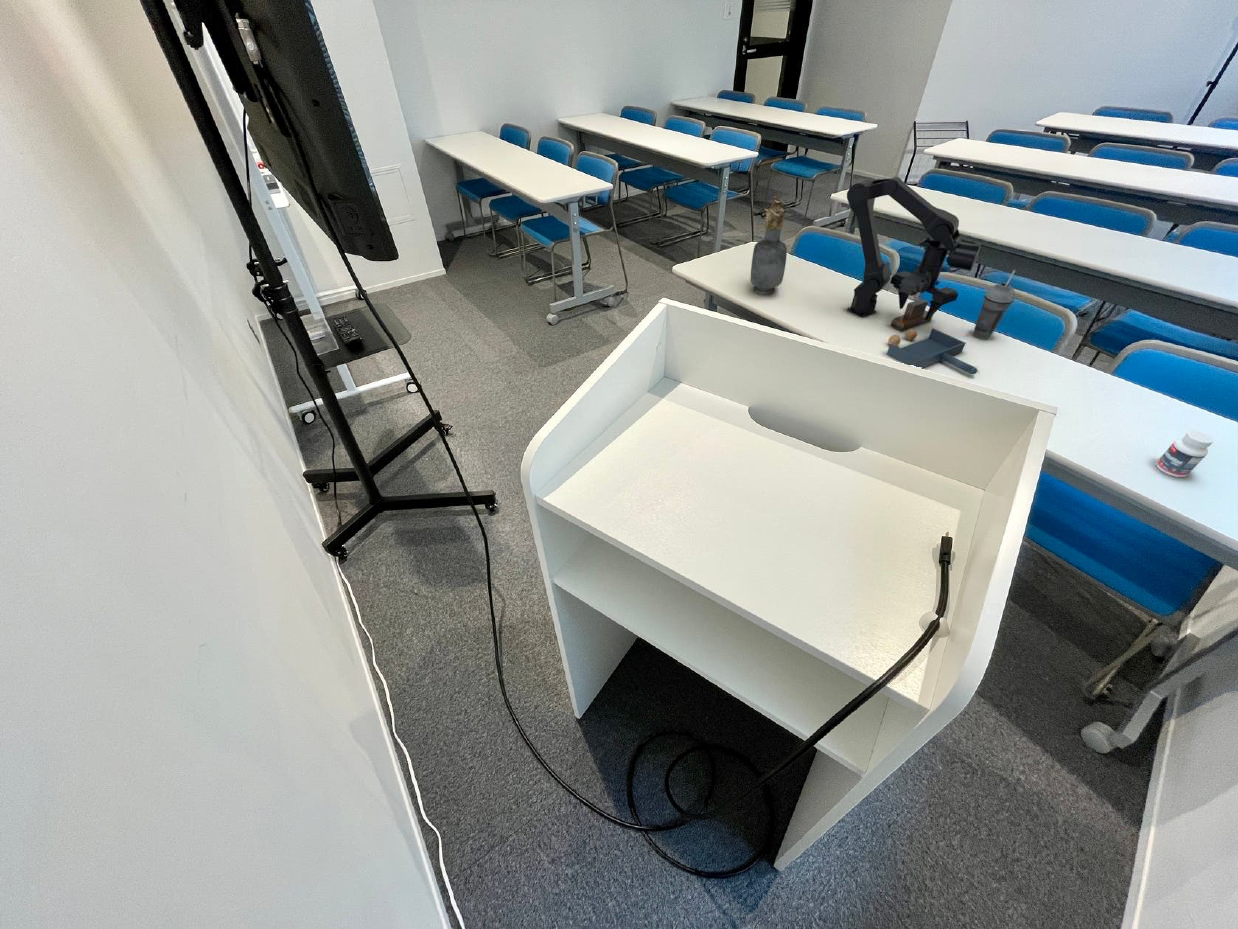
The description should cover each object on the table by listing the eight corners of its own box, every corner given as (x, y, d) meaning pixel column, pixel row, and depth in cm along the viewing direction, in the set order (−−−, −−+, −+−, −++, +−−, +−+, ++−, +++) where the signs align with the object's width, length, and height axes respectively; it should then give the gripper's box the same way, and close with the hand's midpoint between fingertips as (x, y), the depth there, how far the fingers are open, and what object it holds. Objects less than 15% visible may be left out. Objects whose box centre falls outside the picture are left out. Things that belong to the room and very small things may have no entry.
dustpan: (886, 354, 150) (890, 343, 148) (929, 337, 156) (933, 327, 154) (951, 387, 137) (956, 377, 134) (995, 368, 143) (1000, 358, 141)
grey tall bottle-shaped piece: (748, 298, 181) (760, 204, 161) (748, 277, 195) (760, 188, 175) (780, 300, 179) (797, 205, 159) (778, 278, 193) (794, 188, 173)
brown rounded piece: (901, 338, 157) (904, 328, 155) (908, 335, 158) (912, 325, 156) (910, 342, 155) (913, 332, 153) (917, 340, 156) (921, 330, 154)
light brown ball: (884, 344, 154) (887, 334, 152) (892, 341, 156) (895, 331, 153) (893, 349, 152) (896, 339, 150) (901, 346, 153) (904, 336, 151)
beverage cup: (989, 329, 159) (1020, 263, 146) (999, 341, 153) (1033, 273, 140) (963, 329, 160) (992, 263, 146) (973, 341, 154) (1004, 273, 141)
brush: (889, 326, 163) (897, 304, 158) (918, 315, 167) (926, 294, 163) (901, 331, 160) (909, 309, 155) (930, 321, 164) (938, 299, 160)
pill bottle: (1148, 462, 113) (1176, 429, 107) (1172, 460, 113) (1200, 427, 107) (1170, 478, 109) (1200, 445, 103) (1194, 476, 109) (1225, 443, 103)
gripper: (885, 258, 155) (870, 309, 165) (942, 280, 142) (922, 332, 152) (911, 251, 158) (895, 300, 169) (968, 271, 146) (947, 323, 156)
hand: (913, 314), depth 161 cm, fingers open, 9 cm apart
